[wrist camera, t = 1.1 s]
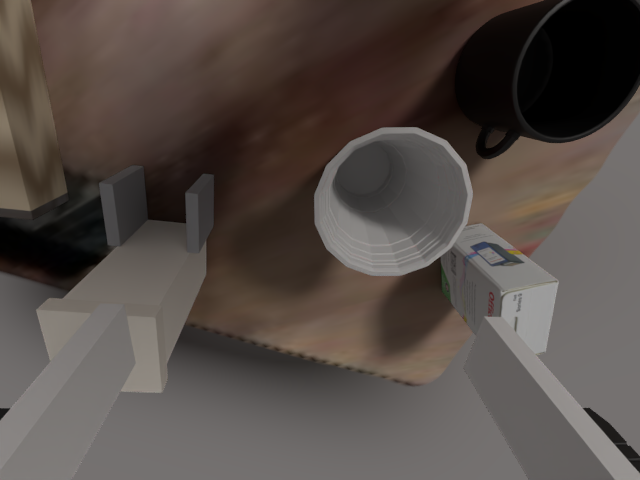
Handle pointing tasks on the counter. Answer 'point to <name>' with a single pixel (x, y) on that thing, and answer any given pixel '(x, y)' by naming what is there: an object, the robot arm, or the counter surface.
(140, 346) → the grey forked bracket
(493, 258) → the ink box
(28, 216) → the rail
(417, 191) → the plastic cup
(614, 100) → the mug
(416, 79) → the counter surface
